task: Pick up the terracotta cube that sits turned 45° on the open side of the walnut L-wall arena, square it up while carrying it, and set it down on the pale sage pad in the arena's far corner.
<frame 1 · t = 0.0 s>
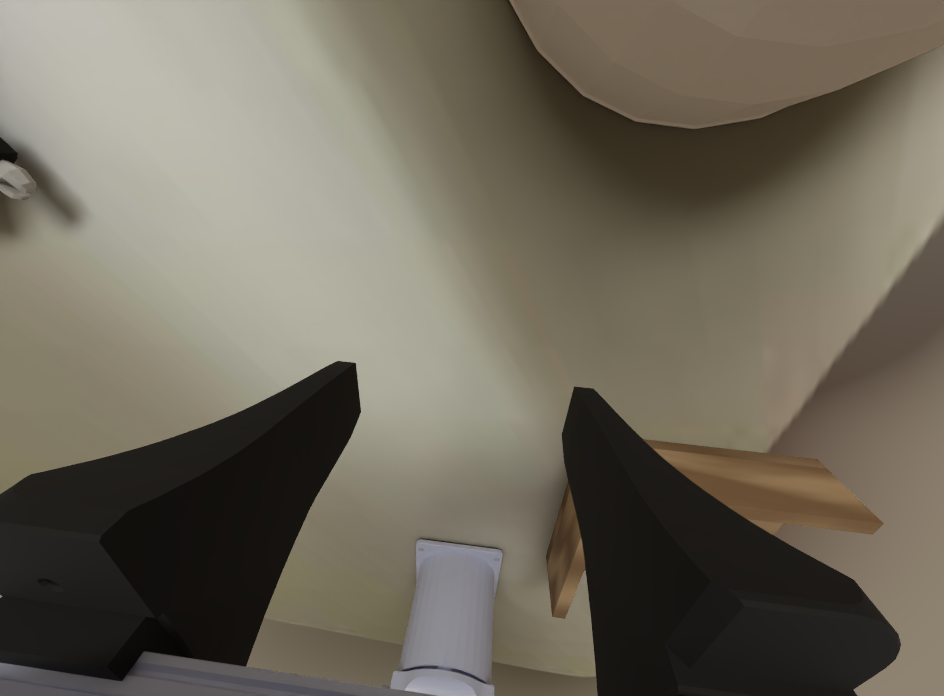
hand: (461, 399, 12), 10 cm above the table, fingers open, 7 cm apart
arena: (662, 514, 28), on the table
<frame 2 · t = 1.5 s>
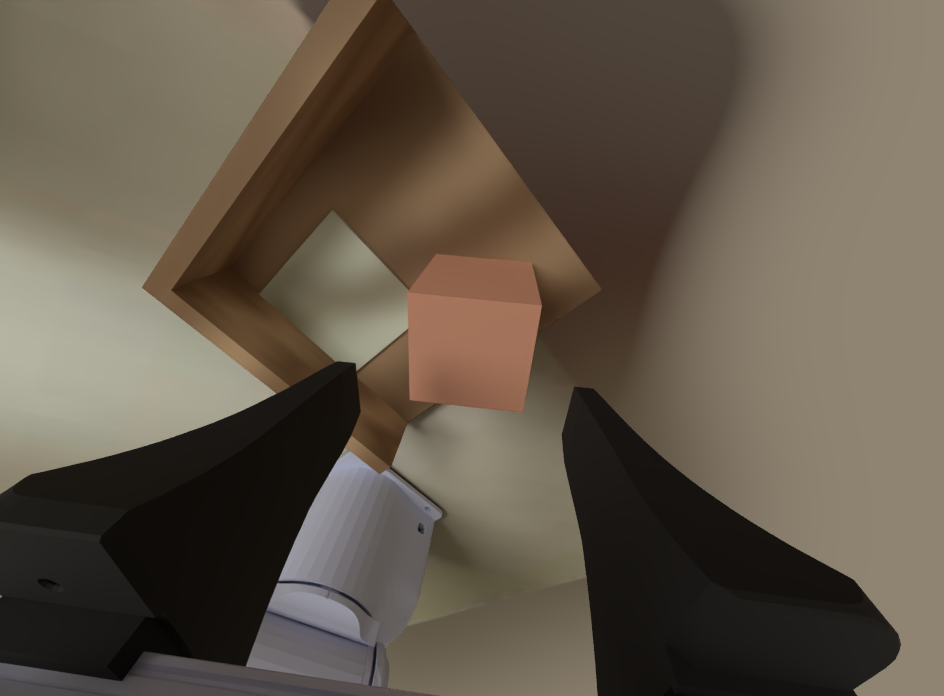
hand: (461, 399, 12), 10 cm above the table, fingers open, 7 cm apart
cube: (479, 303, 19), point 1 cm above the table, touching arena
arena: (401, 272, 20), on the table
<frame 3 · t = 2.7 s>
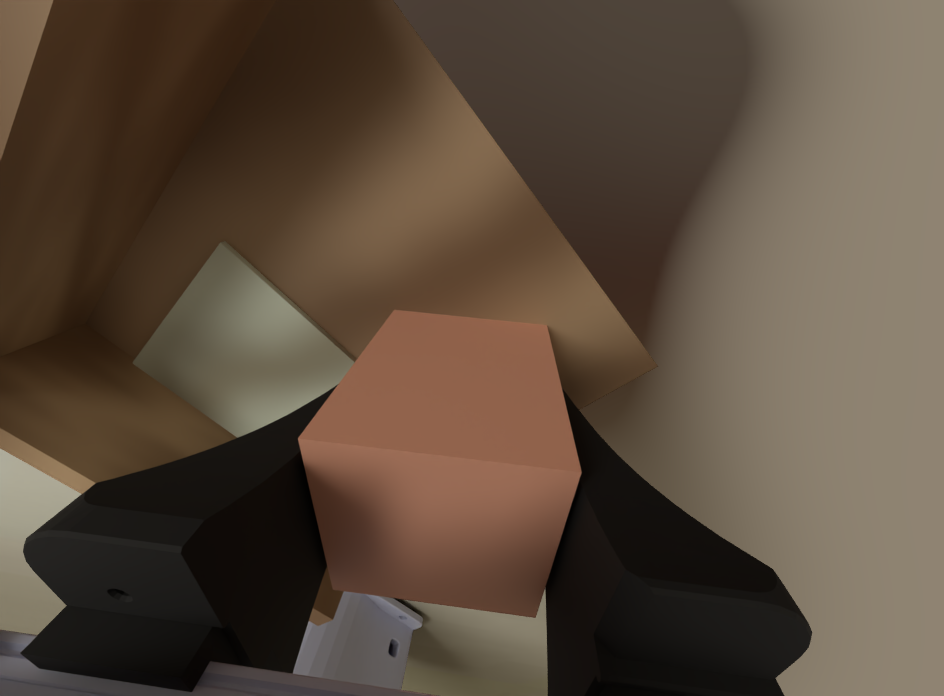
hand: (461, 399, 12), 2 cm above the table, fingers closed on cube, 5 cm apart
cube: (465, 380, 13), point 1 cm above the table, touching arena, gripper
arena: (346, 331, 13), on the table
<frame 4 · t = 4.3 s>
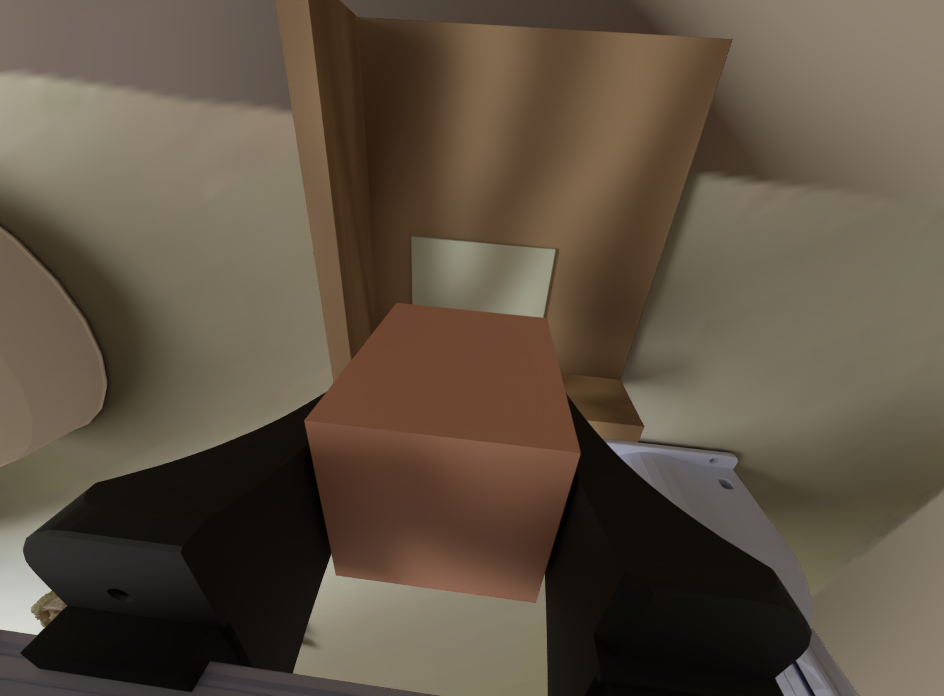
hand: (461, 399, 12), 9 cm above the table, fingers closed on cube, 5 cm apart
cube: (466, 373, 13), point 8 cm above the table, touching gripper
arena: (503, 240, 18), on the table
ceramic model: (120, 609, 44), on the table
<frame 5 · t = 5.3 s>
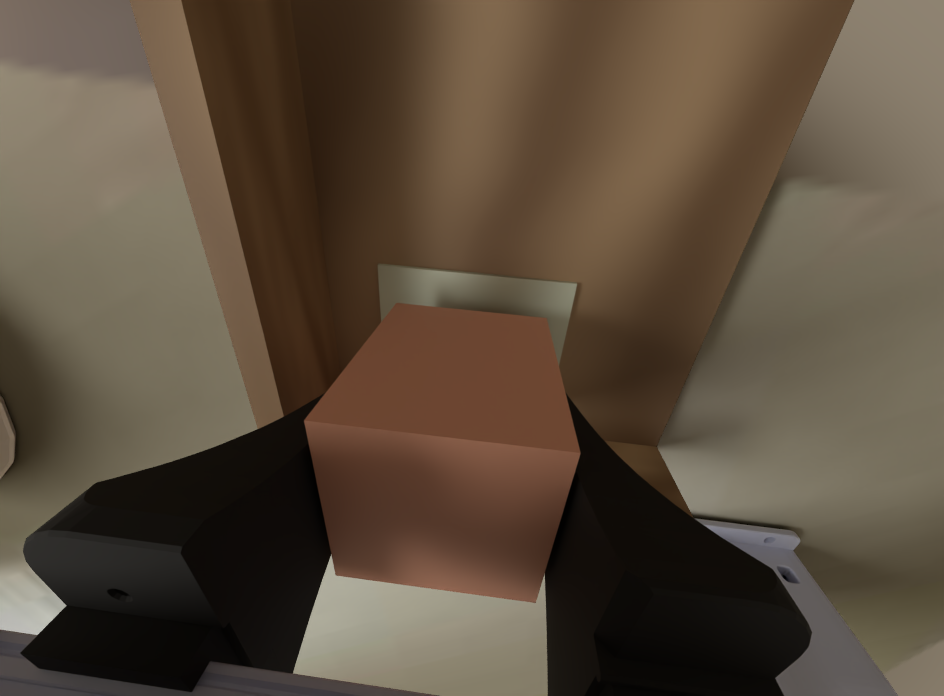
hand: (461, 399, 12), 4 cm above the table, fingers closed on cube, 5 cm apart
cube: (466, 373, 13), point 2 cm above the table, touching gripper
arena: (504, 269, 13), on the table
when the fingers open (3 cm above the table, at t = 5.8 s): cube drops 1 cm, resting on arena.
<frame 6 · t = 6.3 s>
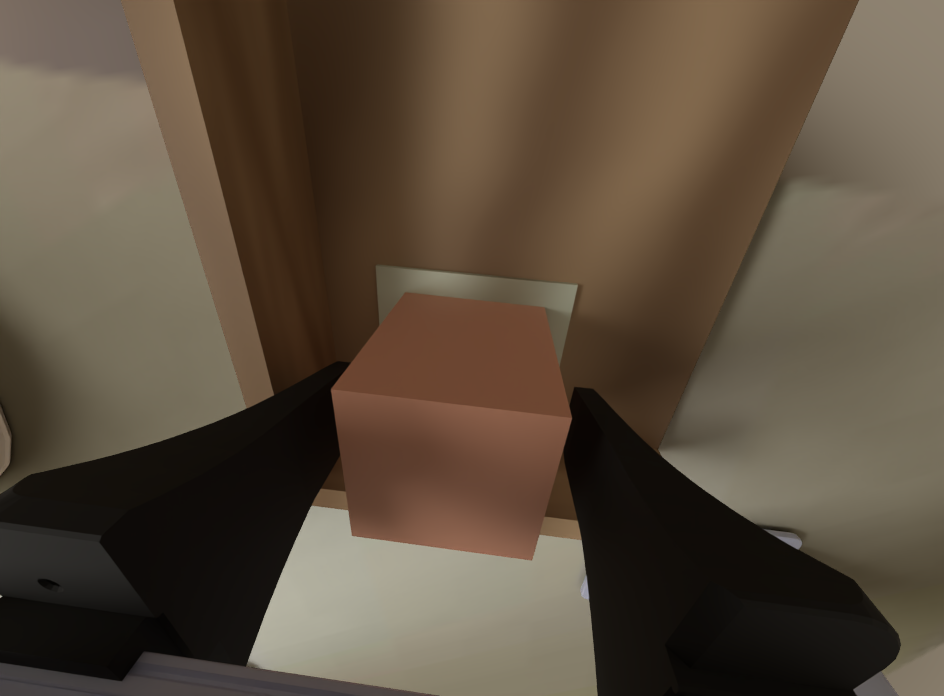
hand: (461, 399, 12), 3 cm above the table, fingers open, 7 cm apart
cube: (469, 359, 14), point 1 cm above the table, touching arena
arena: (504, 270, 13), on the table
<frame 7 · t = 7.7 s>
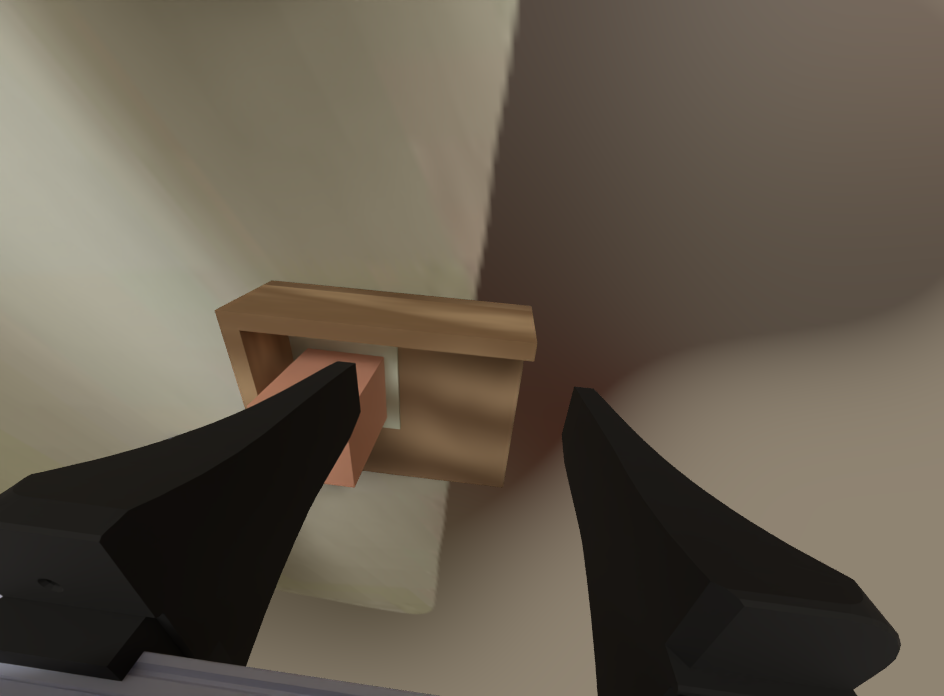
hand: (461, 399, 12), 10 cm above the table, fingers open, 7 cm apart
cube: (349, 384, 24), point 1 cm above the table, touching arena
arena: (402, 393, 25), on the table
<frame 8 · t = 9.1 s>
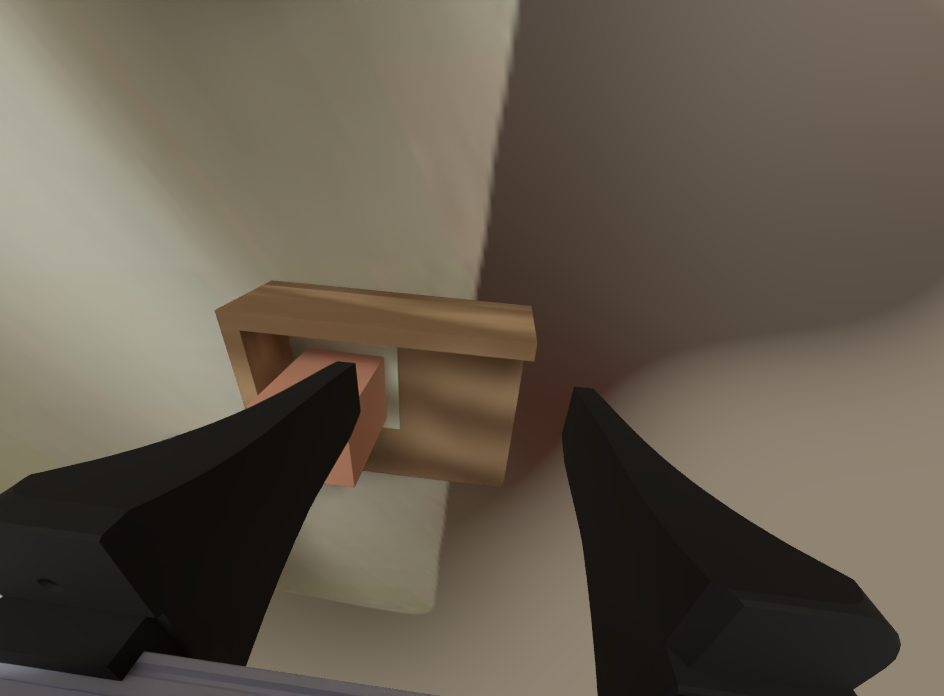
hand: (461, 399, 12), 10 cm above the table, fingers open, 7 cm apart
cube: (349, 384, 24), point 1 cm above the table, touching arena
arena: (402, 393, 25), on the table
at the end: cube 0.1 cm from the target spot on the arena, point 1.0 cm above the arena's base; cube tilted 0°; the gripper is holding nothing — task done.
